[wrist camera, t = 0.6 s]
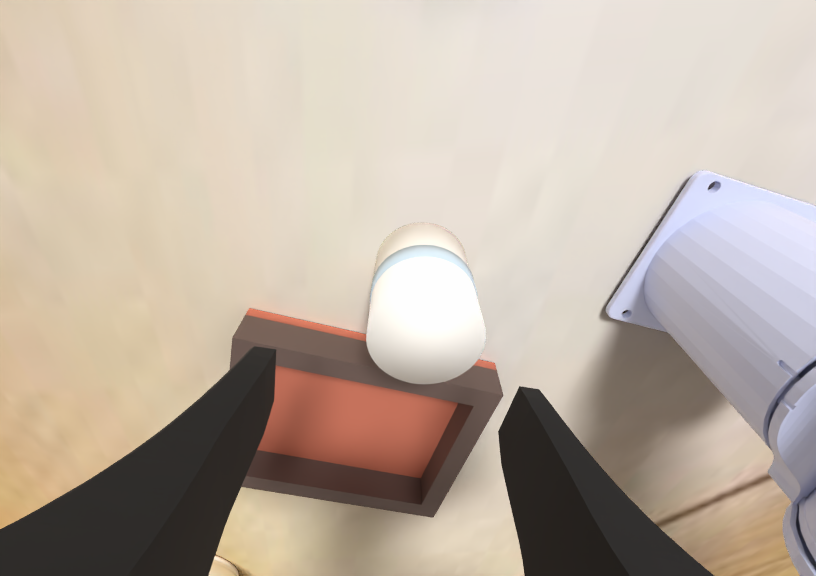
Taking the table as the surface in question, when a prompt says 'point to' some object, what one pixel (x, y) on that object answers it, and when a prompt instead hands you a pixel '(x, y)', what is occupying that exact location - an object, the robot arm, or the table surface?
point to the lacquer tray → (360, 420)
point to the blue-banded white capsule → (424, 307)
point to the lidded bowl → (222, 568)
